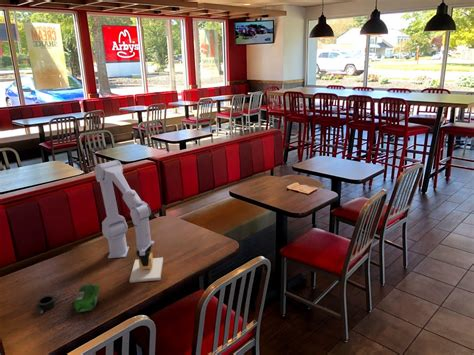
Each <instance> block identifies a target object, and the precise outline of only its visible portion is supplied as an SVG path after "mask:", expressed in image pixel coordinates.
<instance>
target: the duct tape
mask: <svg viewBox="0 0 474 355" xmlns="http://www.w3.org/2000/svg"><path fill="white" fill-rule="evenodd" d="M57 295H58V294H57V293H55V294H52V295H51V294H50V295H48V294H47V295H44V296H42V297H40V298H38V299H37V302H36V303H37V305H36V308H35V309H36V310H35V313H36V314H39V315H41V314H42V313H43V312H48V311H50V310H53V309H54V308H55V307H56V306H57V303H56V297H57Z"/></svg>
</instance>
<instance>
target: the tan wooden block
mask: <svg viewBox="0 0 474 355" xmlns="http://www.w3.org/2000/svg"><path fill="white" fill-rule="evenodd" d="M153 256H154V255H153V252H150V255H149V264H148V266H143V265H142V263H141V260H140V258H139V257H138V259H139V267H140V269H147V268H152V266H153V258H154V257H153Z"/></svg>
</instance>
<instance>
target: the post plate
mask: <svg viewBox="0 0 474 355" xmlns="http://www.w3.org/2000/svg"><path fill="white" fill-rule="evenodd" d="M163 264H164V257H153V266H152V268H147V269H140V267H139V258H138V259H135V260H134V263H133V266H132V270H131V273H130V275H129V276H130V277H129V283H141V282H149V281H161V278H162V277H161V276H162V271H163Z"/></svg>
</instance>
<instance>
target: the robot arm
mask: <svg viewBox="0 0 474 355" xmlns="http://www.w3.org/2000/svg"><path fill="white" fill-rule="evenodd" d="M123 173H124V169H123V165H122V163H121V161H120V160H119V159H114V160H111V161H107V162H103V163H97V164H95V167H94V174H95V180H96V181H97V183H99V185H100V189H101V193H102V199H103V204H104V208H105V214H106V217H105V218H104V220H102V222H101V225H102V226H101V228H102V229H101V231H102V235H103V237H104V238H105V239H107V242H108V248H109V254H108V256H107V259H116V258H126V257H127V255H128V253H129V252H128V251H129V249H130V246H127V245H128V244H127V238H126V233H127V232H128V224H127V222H126V218H125V217H124V216H123V215H120V214H119V210H118V204H117V200H116V195H115V194H116V193H115V190H114V185H113V183H114V184H115V186H116V187H117V188H118V190H119V191H120V192H121V194H122V200H123V201H124V203H125V204H126V206H127V207H128V209H129V210H130V212H129V215H130V217H131V219H132V224H133V225H134V229H135V239H136V247H137V249H138V250H136V252H135V253H136V256H137V257H138V259H139V258H140V260H141V263H142V265H143V266H148V264H149V255H150V253H152V252H151V251H152V246H153V245H154V244H155V241H154V240H152V237H151V230H150V229H151V227H150V218H149V217H150V216H151V215H152V210H151V208H150V206H149V204H148V203H147V202H145V201H144V200H142V199H141V197H140V196H139V195H138V193H137V192H136V190H135V189H131V187H130V186H129V184H128V182H127V180H126V177H125V176H124V174H123Z"/></svg>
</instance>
